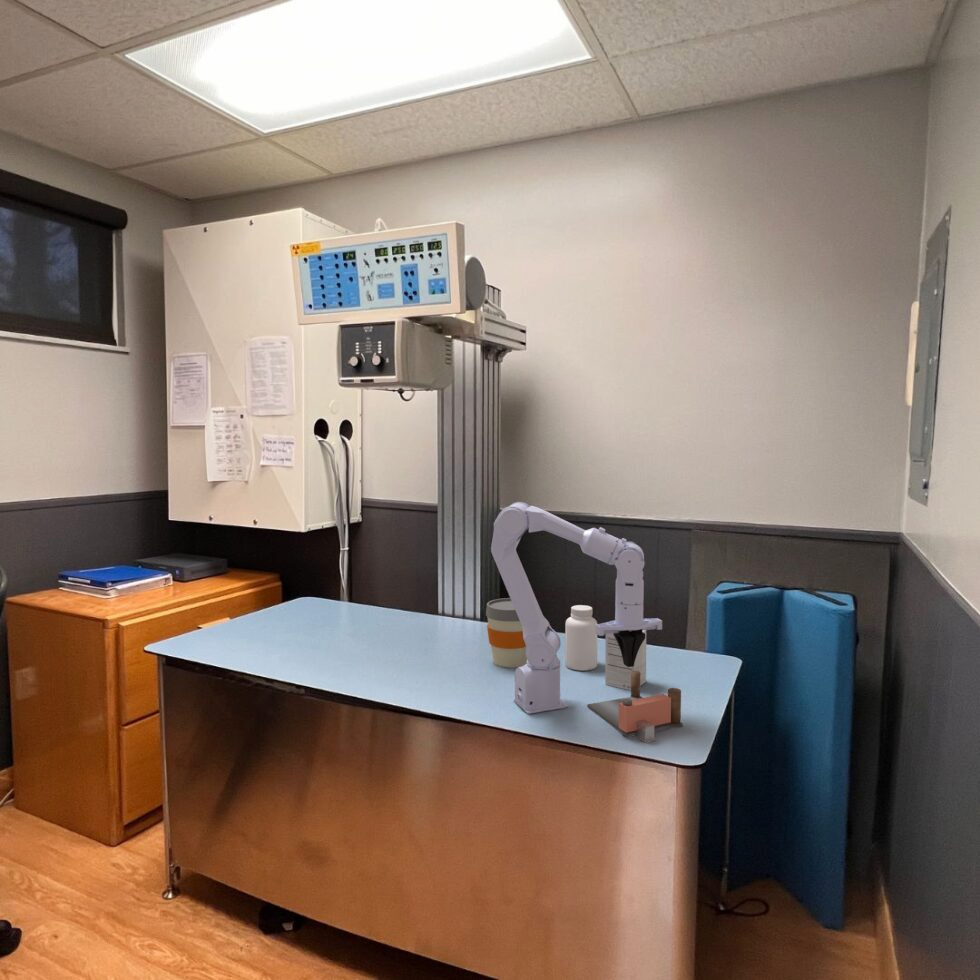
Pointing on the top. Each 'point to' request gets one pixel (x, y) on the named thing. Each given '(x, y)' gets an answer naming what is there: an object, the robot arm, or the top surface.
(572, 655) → the pill bottle
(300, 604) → the top surface
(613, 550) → the robot arm
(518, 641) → the reusable coffee cup
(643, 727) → the block
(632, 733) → the peg mounting fixture
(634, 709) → the rail
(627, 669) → the supplement box
